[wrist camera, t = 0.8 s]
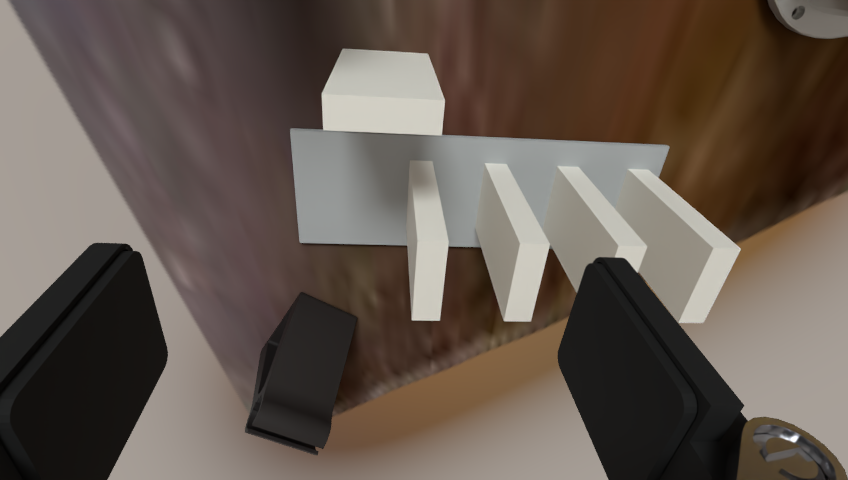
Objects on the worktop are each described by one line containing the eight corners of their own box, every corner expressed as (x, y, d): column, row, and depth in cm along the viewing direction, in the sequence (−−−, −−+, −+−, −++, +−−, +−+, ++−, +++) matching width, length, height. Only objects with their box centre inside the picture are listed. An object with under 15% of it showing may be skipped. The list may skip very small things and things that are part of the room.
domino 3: (506, 164, 37) (550, 244, 27) (495, 228, 41) (530, 321, 30) (484, 163, 37) (519, 243, 27) (475, 227, 40) (503, 321, 30)
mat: (666, 145, 38) (669, 147, 38) (629, 247, 43) (631, 250, 43) (291, 128, 35) (289, 130, 35) (300, 239, 41) (299, 242, 40)
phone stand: (302, 290, 44) (275, 394, 33) (357, 315, 46) (348, 420, 35) (261, 349, 47) (225, 459, 37) (314, 370, 49) (294, 480, 39)
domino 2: (432, 161, 37) (448, 241, 27) (427, 226, 40) (439, 320, 30) (409, 160, 37) (417, 241, 27) (406, 225, 40) (411, 320, 30)
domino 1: (342, 48, 33) (321, 93, 22) (427, 53, 33) (445, 100, 23) (343, 75, 34) (323, 130, 23) (426, 79, 34) (441, 135, 24)
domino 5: (648, 169, 39) (741, 249, 28) (627, 231, 42) (703, 323, 32) (627, 168, 38) (713, 248, 28) (607, 231, 42) (678, 322, 31)
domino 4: (578, 166, 38) (647, 246, 28) (562, 230, 41) (618, 322, 31) (557, 166, 38) (618, 245, 28) (542, 229, 41) (592, 322, 31)
